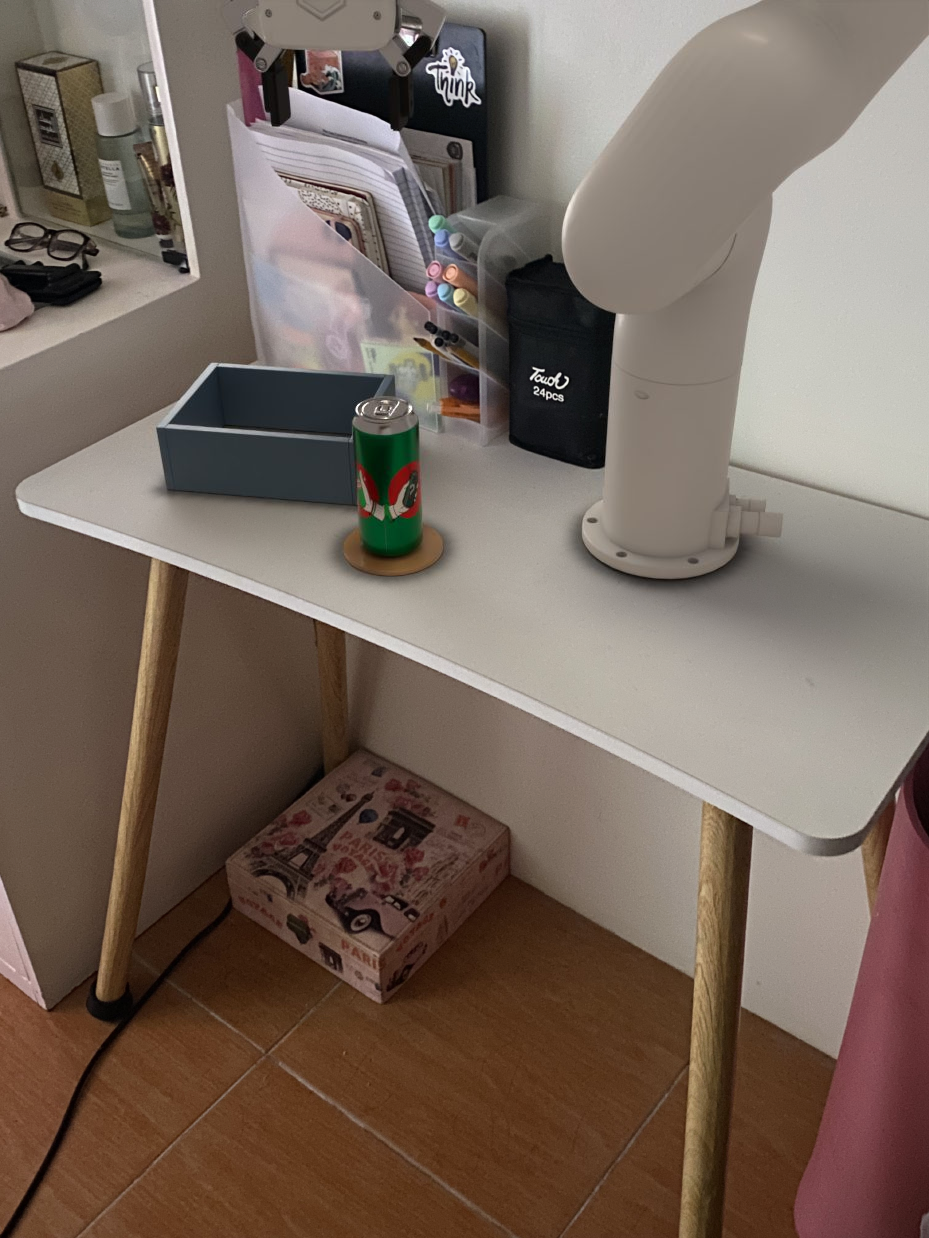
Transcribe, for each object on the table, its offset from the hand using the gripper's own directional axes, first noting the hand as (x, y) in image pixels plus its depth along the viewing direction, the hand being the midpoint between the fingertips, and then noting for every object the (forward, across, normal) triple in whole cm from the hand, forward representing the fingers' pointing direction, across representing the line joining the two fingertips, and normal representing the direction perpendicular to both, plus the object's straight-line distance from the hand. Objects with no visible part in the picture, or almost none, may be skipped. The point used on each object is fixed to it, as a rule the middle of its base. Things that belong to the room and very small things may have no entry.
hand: (340, 125), depth 97 cm
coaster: (+28, +7, -17) cm, 34 cm away
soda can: (+28, +7, -17) cm, 34 cm away
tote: (+28, -6, -4) cm, 29 cm away
